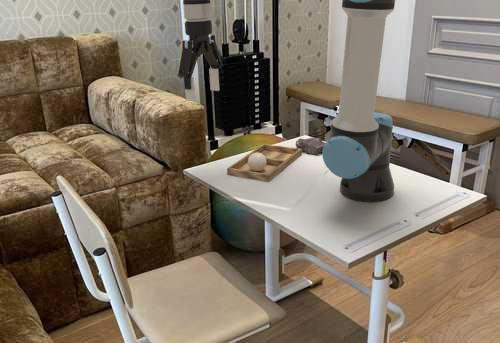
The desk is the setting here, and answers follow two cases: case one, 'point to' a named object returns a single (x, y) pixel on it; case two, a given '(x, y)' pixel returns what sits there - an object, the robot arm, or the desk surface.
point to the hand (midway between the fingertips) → (203, 95)
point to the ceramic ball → (257, 161)
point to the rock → (310, 145)
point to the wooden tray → (275, 158)
